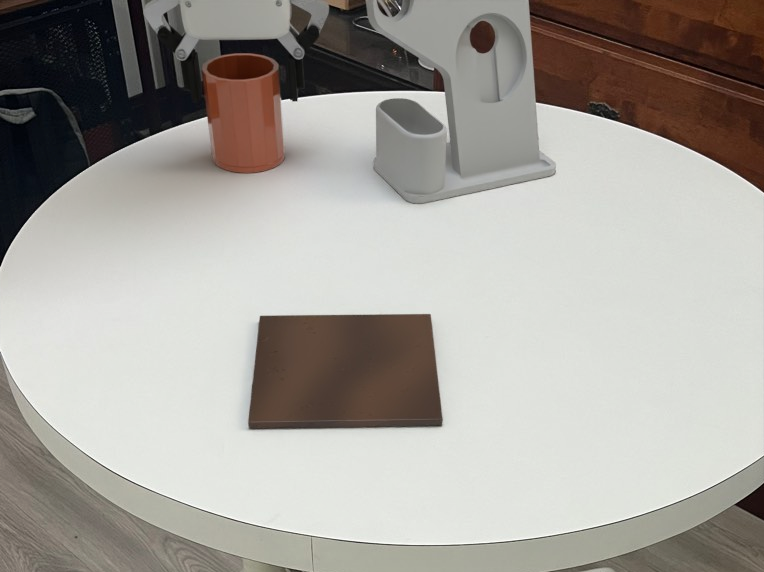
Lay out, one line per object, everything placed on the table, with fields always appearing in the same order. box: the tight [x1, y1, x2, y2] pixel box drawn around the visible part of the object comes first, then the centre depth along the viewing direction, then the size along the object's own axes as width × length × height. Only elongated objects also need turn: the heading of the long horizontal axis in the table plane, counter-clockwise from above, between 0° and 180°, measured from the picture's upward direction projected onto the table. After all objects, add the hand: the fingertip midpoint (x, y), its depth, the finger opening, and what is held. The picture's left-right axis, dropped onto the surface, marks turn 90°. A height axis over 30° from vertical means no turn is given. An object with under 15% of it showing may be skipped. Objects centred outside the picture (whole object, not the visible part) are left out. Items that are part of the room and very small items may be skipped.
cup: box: [201, 52, 286, 174], centre depth 100 cm, size 7×7×9 cm
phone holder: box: [365, 0, 557, 204], centre depth 96 cm, size 17×10×18 cm, turn 116°
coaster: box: [247, 313, 444, 429], centre depth 77 cm, size 14×14×1 cm
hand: (246, 96), depth 99 cm, fingers open, 9 cm apart
